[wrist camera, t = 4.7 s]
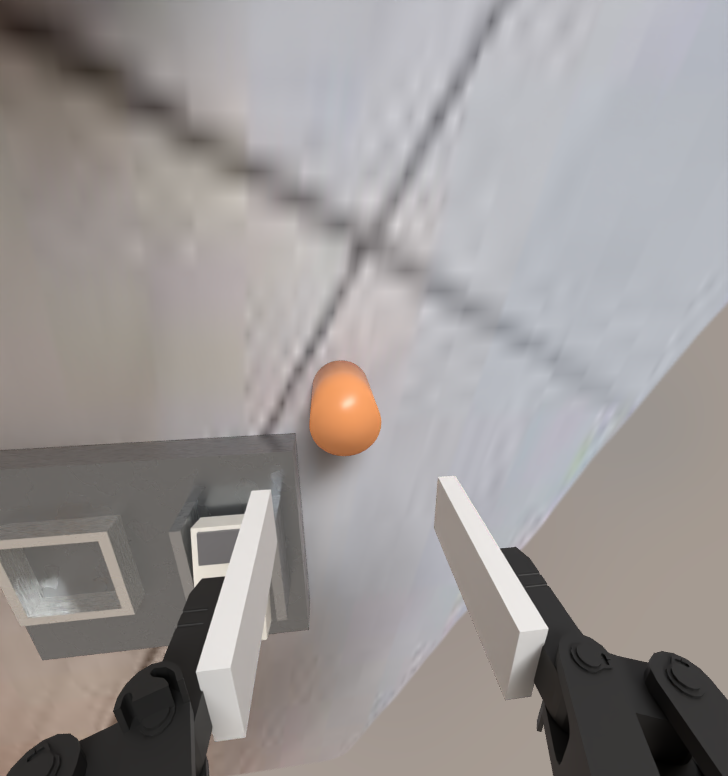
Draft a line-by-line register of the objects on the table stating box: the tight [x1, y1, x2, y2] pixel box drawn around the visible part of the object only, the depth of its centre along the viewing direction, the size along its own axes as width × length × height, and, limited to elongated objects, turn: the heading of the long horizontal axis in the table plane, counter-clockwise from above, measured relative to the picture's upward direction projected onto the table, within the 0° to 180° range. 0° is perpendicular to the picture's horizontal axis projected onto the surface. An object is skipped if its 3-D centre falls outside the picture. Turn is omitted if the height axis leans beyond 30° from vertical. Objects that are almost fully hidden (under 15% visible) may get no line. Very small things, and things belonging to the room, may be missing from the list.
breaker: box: [191, 514, 271, 640], centre depth 27 cm, size 9×5×2 cm, turn 0°
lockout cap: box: [310, 361, 381, 456], centre depth 25 cm, size 5×5×7 cm
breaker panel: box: [0, 433, 310, 660], centre depth 29 cm, size 20×24×6 cm
